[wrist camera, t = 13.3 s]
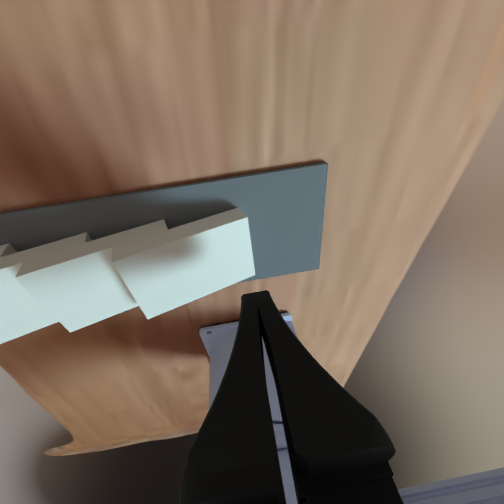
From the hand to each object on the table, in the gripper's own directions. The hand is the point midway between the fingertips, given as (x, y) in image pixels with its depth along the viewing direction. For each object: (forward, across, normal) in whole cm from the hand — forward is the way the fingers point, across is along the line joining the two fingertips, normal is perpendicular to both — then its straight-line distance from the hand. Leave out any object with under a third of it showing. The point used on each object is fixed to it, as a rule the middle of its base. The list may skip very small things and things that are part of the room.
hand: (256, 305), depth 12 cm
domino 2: (+6, +5, 0) cm, 8 cm away
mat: (+7, +8, 0) cm, 10 cm away
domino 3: (+6, 0, 0) cm, 6 cm away
